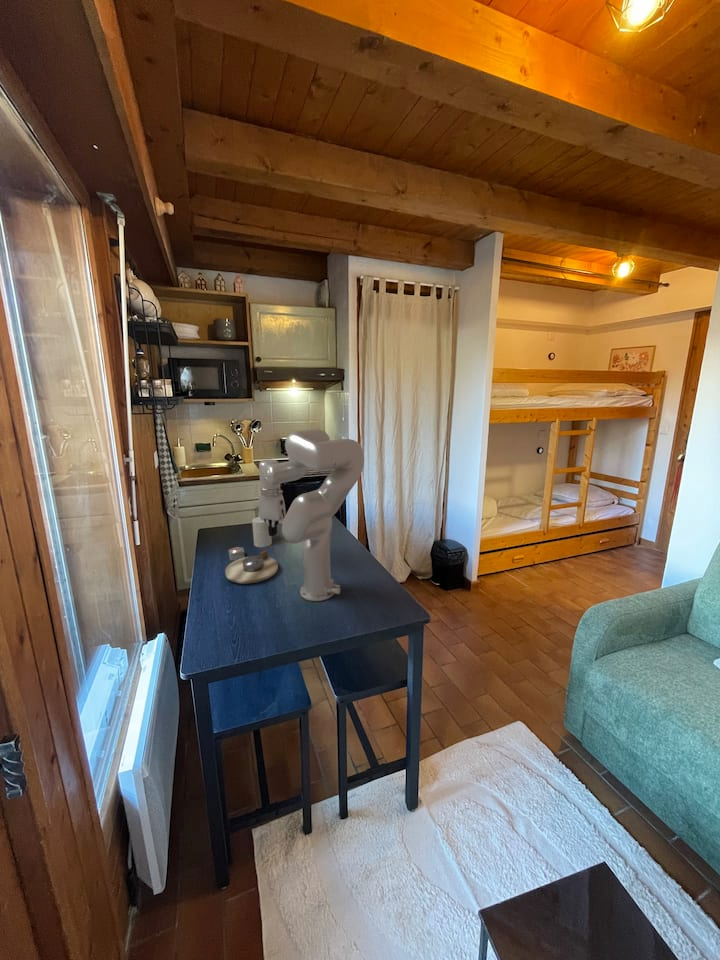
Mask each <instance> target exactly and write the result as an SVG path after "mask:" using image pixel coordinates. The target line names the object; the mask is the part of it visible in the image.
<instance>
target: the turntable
mask: <svg viewBox="0 0 720 960" xmlns="http://www.w3.org/2000/svg"><path fill="white" fill-rule="evenodd" d="M251 556H252V555H251ZM251 556H249V557H251ZM258 556H260V557H262V558H263V559H264V568H263V569H261V570H260V571H257V572H246V571H244V570H243V562H242V561H243V560H244V559H245V558H247V557H248V556H245V558H241V559H237V560H233V561H231V563H229V564H228V565H227V566H226V568H225V571H224V573H225V578H226V579H227V580H229V581H230V582H232V583H235V584H255V583H259V582H262V581H266V580H268V579H269V578H271V577H273V576H274V575H275V574H276V573H277V572H278V569H279V568H278V567H279V565H278V564H279V563H278V562H277V559H275V558H273V557H271V556H268V550H265V549H263V550H262V551H260V552H259V553H258Z"/></svg>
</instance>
